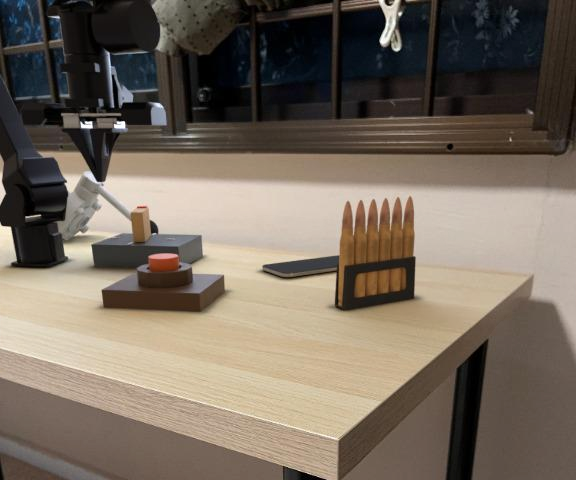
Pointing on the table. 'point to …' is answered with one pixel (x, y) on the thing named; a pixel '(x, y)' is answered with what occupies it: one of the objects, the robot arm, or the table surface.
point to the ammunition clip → (376, 256)
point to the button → (163, 262)
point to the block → (140, 224)
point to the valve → (89, 206)
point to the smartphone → (303, 266)
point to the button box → (164, 290)
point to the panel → (145, 249)
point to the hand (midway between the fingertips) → (101, 181)
